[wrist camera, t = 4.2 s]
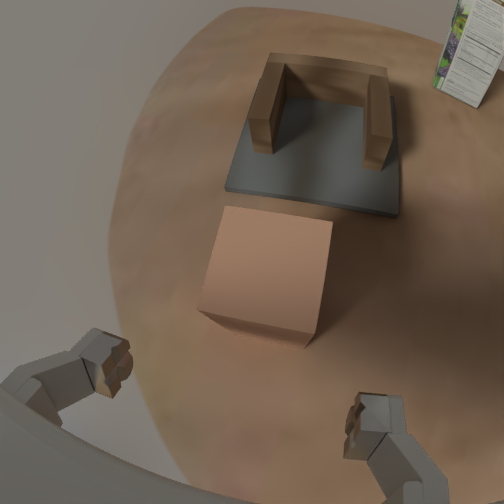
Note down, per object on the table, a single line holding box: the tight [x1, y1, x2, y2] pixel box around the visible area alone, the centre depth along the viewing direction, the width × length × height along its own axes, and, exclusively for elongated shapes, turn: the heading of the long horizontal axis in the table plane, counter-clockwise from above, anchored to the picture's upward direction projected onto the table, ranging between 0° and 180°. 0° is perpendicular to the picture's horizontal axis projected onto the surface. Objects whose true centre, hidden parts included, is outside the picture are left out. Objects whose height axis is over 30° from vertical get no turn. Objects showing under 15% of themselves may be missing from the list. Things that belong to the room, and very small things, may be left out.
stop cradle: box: [225, 53, 399, 218], centre depth 23 cm, size 13×13×5 cm
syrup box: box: [433, 0, 504, 108], centre depth 20 cm, size 6×6×14 cm
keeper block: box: [197, 206, 333, 349], centre depth 16 cm, size 4×4×9 cm
